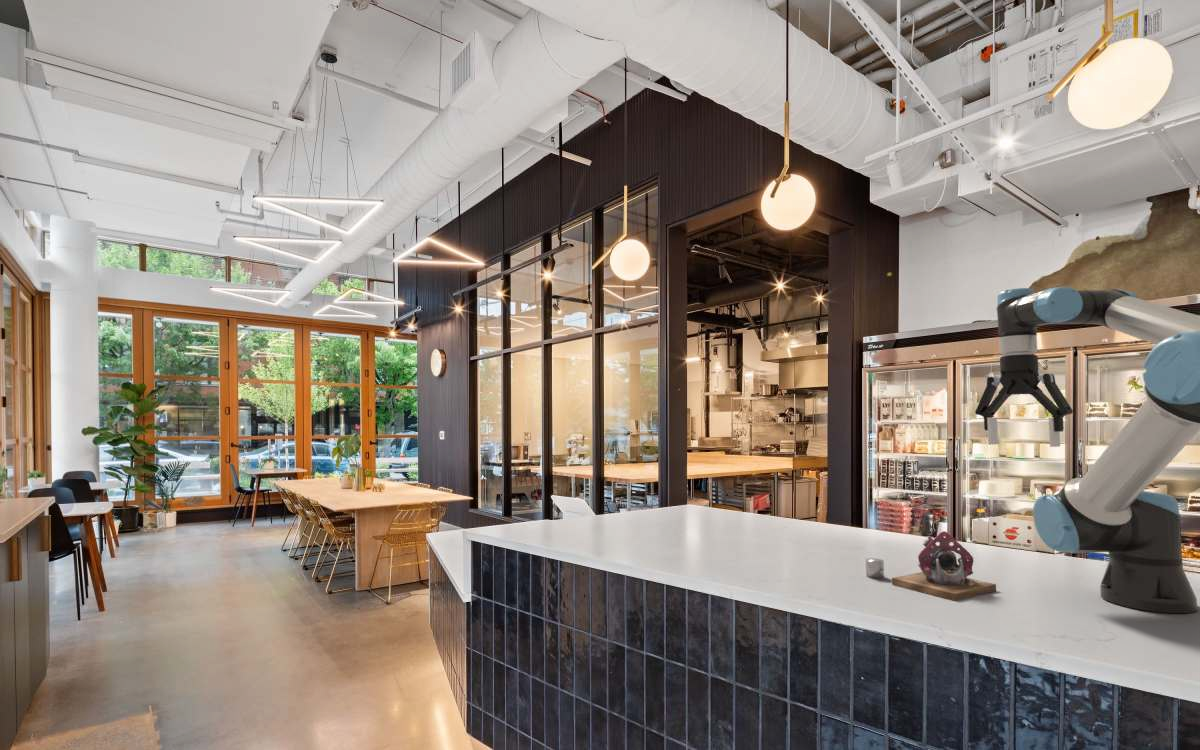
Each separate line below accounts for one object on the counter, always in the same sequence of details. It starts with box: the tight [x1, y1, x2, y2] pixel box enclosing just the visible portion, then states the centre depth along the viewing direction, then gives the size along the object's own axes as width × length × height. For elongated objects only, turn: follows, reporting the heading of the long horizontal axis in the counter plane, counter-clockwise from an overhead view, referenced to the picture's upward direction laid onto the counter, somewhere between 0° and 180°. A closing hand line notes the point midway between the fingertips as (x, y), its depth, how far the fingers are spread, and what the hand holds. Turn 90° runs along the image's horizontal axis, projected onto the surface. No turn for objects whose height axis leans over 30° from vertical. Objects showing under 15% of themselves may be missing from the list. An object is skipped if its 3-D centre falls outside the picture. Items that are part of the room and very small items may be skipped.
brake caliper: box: [917, 530, 974, 586], centre depth 144 cm, size 11×11×12 cm
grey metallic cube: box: [865, 557, 885, 580], centre depth 153 cm, size 4×4×4 cm
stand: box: [891, 571, 997, 602], centre depth 143 cm, size 15×15×2 cm
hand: (1022, 445), depth 148 cm, fingers open, 13 cm apart
